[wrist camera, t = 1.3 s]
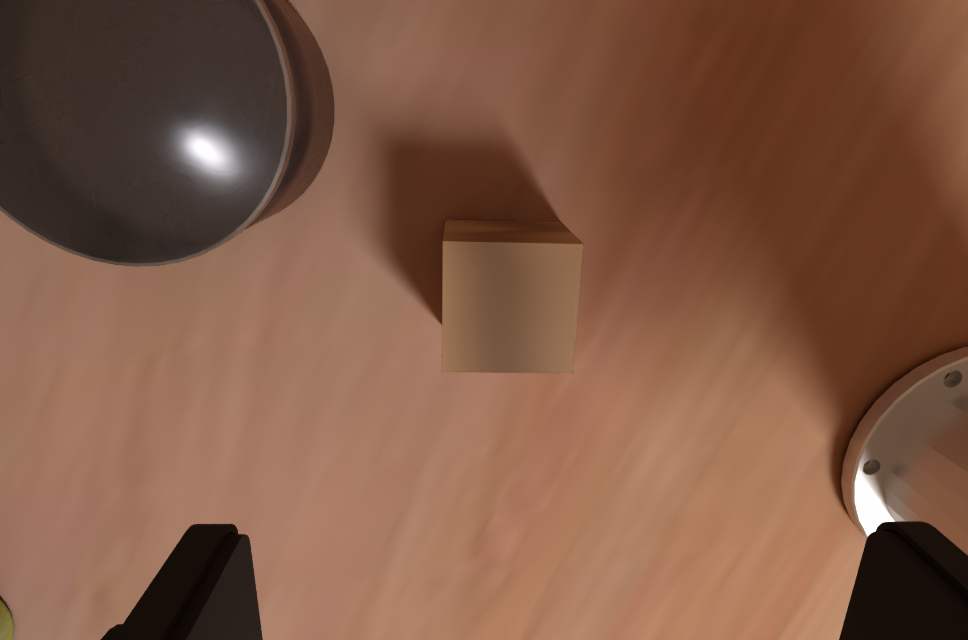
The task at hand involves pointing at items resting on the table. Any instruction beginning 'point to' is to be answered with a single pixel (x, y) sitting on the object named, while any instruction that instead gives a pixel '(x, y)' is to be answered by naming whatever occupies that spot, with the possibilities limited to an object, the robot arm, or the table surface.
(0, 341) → the table surface
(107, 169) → the black tin
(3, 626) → the plant pot
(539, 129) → the table surface
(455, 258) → the walnut block
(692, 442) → the table surface
